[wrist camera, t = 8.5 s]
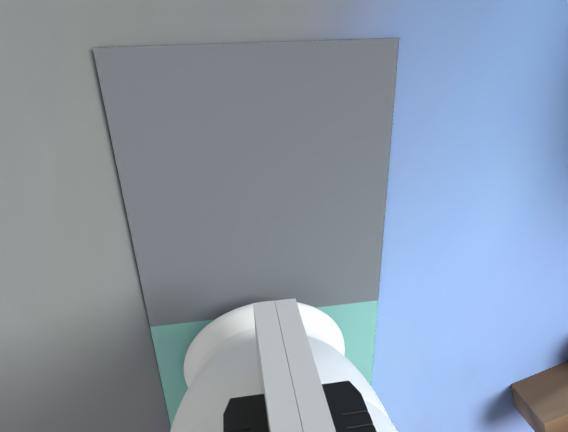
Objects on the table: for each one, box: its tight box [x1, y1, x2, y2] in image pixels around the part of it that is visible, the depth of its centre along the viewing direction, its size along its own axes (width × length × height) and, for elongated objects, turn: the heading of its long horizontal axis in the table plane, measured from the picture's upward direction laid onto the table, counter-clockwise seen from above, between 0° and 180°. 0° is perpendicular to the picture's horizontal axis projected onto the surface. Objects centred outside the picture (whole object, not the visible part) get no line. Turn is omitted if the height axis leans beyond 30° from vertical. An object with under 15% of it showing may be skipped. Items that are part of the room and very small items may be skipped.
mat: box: [93, 38, 399, 427], centre depth 21 cm, size 26×12×1 cm, turn 2°
